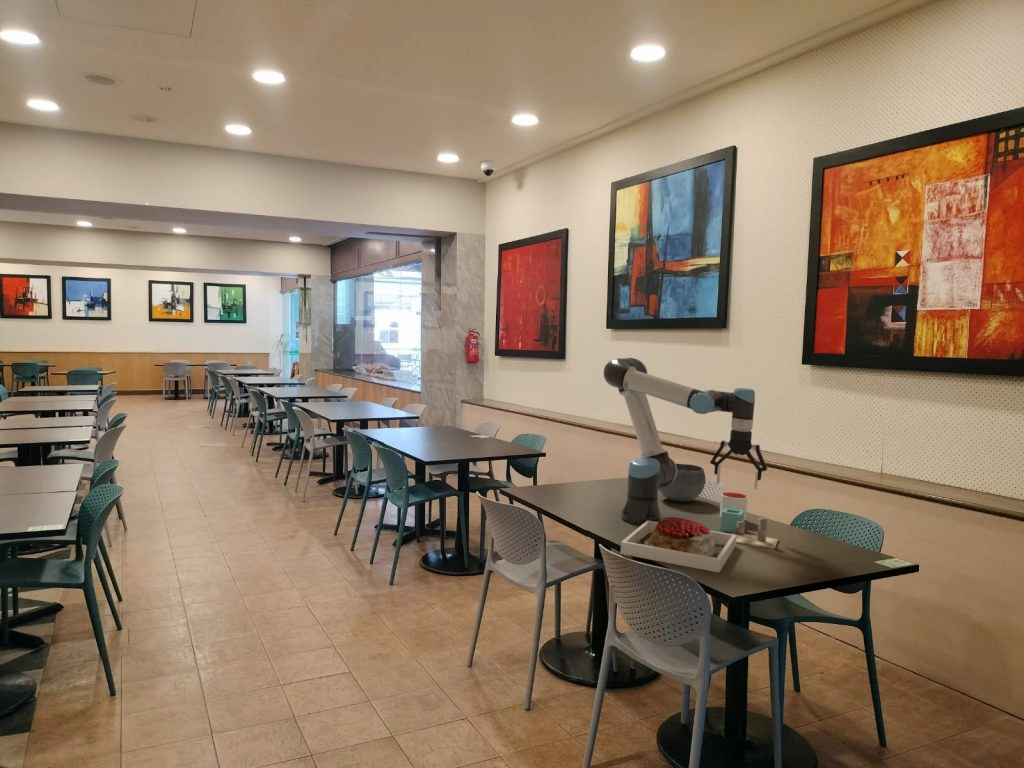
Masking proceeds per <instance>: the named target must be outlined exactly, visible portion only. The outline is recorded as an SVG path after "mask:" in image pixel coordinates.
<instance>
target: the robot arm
mask: <svg viewBox="0 0 1024 768" xmlns="http://www.w3.org/2000/svg"><path fill="white" fill-rule="evenodd" d="M603 378H604V380H605V382H606V383H607V384H608V385H609V386H611V387H613V388H617V390H618V392H619V395H621V396H622V397H624V400H625V403H626V406H627V410H628V413H629V416H630V419H631V422H632V426H633V430H634V433H635V436H636V439H637V443H638V446H639V449H640V452H641V453H640V456H639V457H636V458H633V459H632V460H630V462H629V464H628V468H627V469H628V470H627V472H628V473H627V474H628V475H627V493H626V500H625V503H624V506H623V507H622V510H621V516H620V518H621V519H622V520H623V521H624V522H627V523H632V524H636V525H642V524H644V523H645V522H646V521H647V520H648V521H654V522H660V521H661V520H662V514H661V510H660V506H659V502H658V498H659V497H658V496H659V488H662V487H666V486H668V485H670V484H671V483H672V482H673V481H674V480H675V479H676V477H677V466H676V464H677V463H676V462H675V461H674V460H673V459H672V458H671V457H670V456H669V455H670V454H669V452H668V450H667V449H665V448H664V447H663V445H662V442H661V439H660V435H659V432H658V429H657V426H656V421H655V420H654V416H653V413H652V410H651V406H650V403H649V400H648V397H647V395H648V396H651V397H653V398H657V399H659V400H663V401H666V402H670V403H672V404H676V405H678V406H682V407H684V408H687V409H690V410H692V412H694V413H696V414H698V415H699V414H700V415H706V414H708V413H715V412H723V413H731V425H730V428H731V430H730V434H729V441H727V440H724V439H722V440H721V441H720V446H719V448H718V449H717V450H716V452H715V454H714V455H713V456H712V459H711V460H710V464H711V465H713V466H714V472H713V474H714V475H716V485H719V484H720V479H721V468H722V466H721V464H722V463H723V462H724V461H725V460H726V459H727V458H728V457H730V455H731V454H734V455H736V456H737V455H740V456H745V455H746V457H747V458H748V459H749V461H750V462H751V464H752V465H753V466H754V468H755V469H756V471H755V476H754V486H753V487H754V488H753V489H754V490H757V489H758V483H759V482H758V481H761V479H762V473H763V472H766V471H767V470H768V467H767V463H766V462H765V459H764V457H763V454H762V452H761V446H760V444H759V443H758V444H752V434H753V431H752V430H753V425H754V424H753V423H754V414H755V404H756V392H755V390H754V389H752V388H746V387H736V388H734V390H733V392H731V391H730V392H728V391H722V390H721V391H720V390H714V389H706V390H703V391H702V390H699V389H697V388H693V387H689V386H687V385H683V384H681V383H677V382H675V381H671V380H667V379H664V378H661V377H658V376H655V375H652V374H648V369H647V366H646V364H645V363H644V362H642V361H641V360H640V359H638V358H637V359H636V358H633V357H628V358H625V357H624V358H613V359H611V360H609V361H608V362H607V364H605V365H604V368H603ZM727 446H728V447H729V450H728V451H727V452H726V453H725V454H724V455H723V456H722V457H721V458H720V459H718V457H719V455H720V454H721V452H722V451H723V449H724V448H726V447H727ZM751 449H752V450H754V451H755V452H756V455H757V458H758V460H759V463H760V464H759V463H758V461H757V460H756V459H755V457H754V456H753V455H752V453H751V452H750V450H751ZM717 459H718V460H717ZM716 460H717V461H716ZM760 465H761V466H760Z"/></svg>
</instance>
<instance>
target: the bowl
mask: <svg viewBox="0 0 1024 768" xmlns="http://www.w3.org/2000/svg"><path fill="white" fill-rule="evenodd" d="M675 464H676V466H677V477H676V479H675V480H674V481H673V482H672V483H671V484H670V485H668V486H666V487H662V488H659V489H658V492H660V493H661V495H662V496H664V497H665V498H666V499H668V500H670V501H673V502H681V503H682V502H690V501H693V500H695V499H696V498H698V497H699V496H700V495H701V494H702V492H703V491H704V489H705V488H704V487H705V485H706V473H705V470H704V468H703V467H702V466H700V465H695V464H684V463H675Z"/></svg>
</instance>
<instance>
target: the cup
mask: <svg viewBox="0 0 1024 768" xmlns="http://www.w3.org/2000/svg"><path fill="white" fill-rule="evenodd" d="M748 498H749V497H748V496H747V495H745V494H743V493H739V492H733V491H732V492H725V491H724V492H722V493H721V496H720V507H719V517H720V518H721V516H722V511H723V510H724V509H725V508H728V509H735V510H742V511H744V519H743V522H745V521H746V520H747V513H748V512H747V511H748Z"/></svg>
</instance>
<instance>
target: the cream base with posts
mask: <svg viewBox="0 0 1024 768" xmlns="http://www.w3.org/2000/svg"><path fill="white" fill-rule="evenodd" d="M745 528H746V522H745V521H744V522H742V521H737V529H736V532H730V534H733V535H736V544H740V545H746V546H751V547H758V548H762V549H763V548H764V549H769V550H774V549H775V550H776V547H777V544H778V542H779V538H772V537H768V536H767V530H768V518H765V517H759V518H758V527H757V528H758V529H757V535H756V534H755V535H754V534H749V533H748V534H747V533H745Z"/></svg>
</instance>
